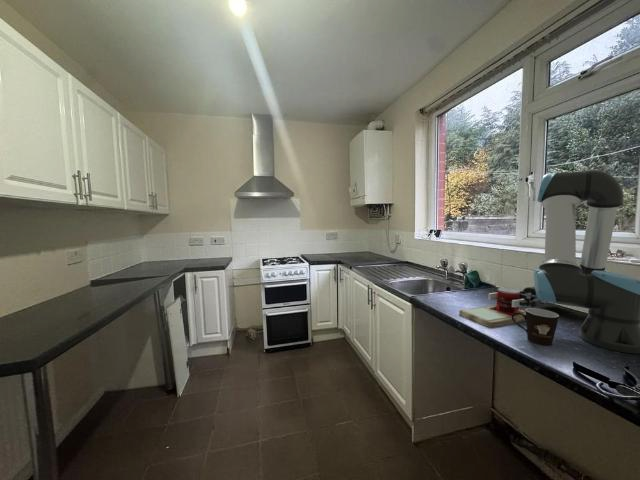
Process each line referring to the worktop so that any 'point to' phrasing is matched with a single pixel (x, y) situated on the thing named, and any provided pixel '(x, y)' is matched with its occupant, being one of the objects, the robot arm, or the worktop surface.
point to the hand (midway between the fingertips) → (500, 300)
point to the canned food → (507, 300)
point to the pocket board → (491, 316)
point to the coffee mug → (539, 325)
